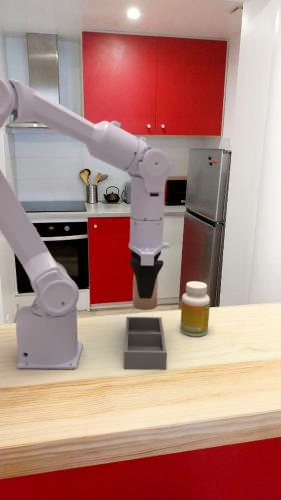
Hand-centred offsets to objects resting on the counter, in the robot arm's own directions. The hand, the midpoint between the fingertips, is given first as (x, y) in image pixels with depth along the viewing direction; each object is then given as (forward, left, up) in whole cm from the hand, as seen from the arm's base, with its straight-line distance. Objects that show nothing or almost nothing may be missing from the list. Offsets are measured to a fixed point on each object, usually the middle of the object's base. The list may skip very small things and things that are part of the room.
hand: (145, 292), depth 65 cm
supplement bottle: (+10, +4, -10) cm, 14 cm away
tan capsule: (0, 0, -2) cm, 2 cm away
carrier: (0, -3, -9) cm, 10 cm away
